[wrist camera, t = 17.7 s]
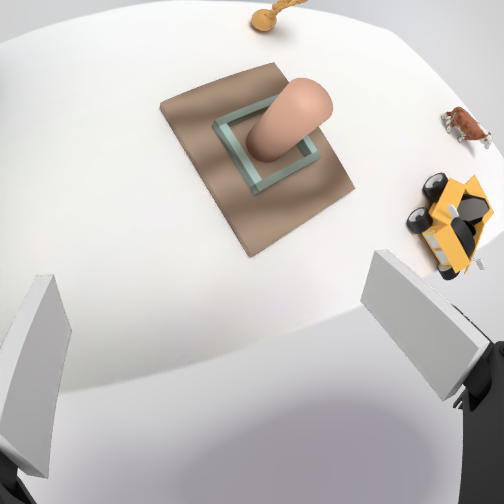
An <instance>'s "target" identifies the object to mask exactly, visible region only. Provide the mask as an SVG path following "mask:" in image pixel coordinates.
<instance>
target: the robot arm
mask: <svg viewBox="0 0 504 504" xmlns="http://www.w3.org/2000/svg"><path fill="white" fill-rule="evenodd" d="M360 301H361V302H362V304H363V305H364V306H365V307H366V308H367V309H368V311H369V312H370V313H371V314H372V315H373V316H374V318H375V319H376V320H377V321H378V322H379V323H380V325H381V326H382V327H383V328H384V329H385V331H386V332H387V333H388V334H389V335H390V337H391V338H392V339H393V340H394V341H395V342H396V344H397V345H398V346H399V347H400V349H401V350H402V351H403V352H404V353H405V355H406V356H407V357H408V358H409V360H410V361H411V362H412V363H413V365H414V366H415V367H416V368H417V369H418V371H419V372H420V373H421V375H422V376H423V377H424V378H425V380H426V381H427V382H428V383H429V385H430V386H431V387H432V389H433V390H434V391H435V392H436V394H437V395H438V396H439V397H440V399H441V400H442V401H444V400H446V399H447V398H450V397H451V396H453V395H455V393H456V392H457V391H458V389H459V388H460V387H461V385H462V384H463V385H464V386H465V387H466V388H465V390H464V391H463V392H462V394H461V395H460V396H459V398H458V399H457V400H456V401H455V403H454V405H453V408H456V406H457V405H458V404H459V403H460V402H461V401H462V403H461V405H460V406H459V408H458V409H462V410H463V456H462V473H461V484H460V493H459V502H458V504H504V341H498V342H496V344H494V343H493V342H492V341H491V340H490V339H489V338H488V337H487V336H486V335H485V334H484V333H483V332H482V331H481V330H479V328H478V327H477V326H476V325H474V324H473V323H472V322H470V320H469V319H468V318H467V317H466V316H464V315H463V313H462V312H461V311H460V310H459V309H457V308H456V307H455V306H454V305H452V304H450V303H449V302H448V301H447V300H446V299H445V298H443V297H442V296H441V295H440V294H439V293H438V292H437V291H436V290H434V289H433V288H432V287H431V286H430V285H429V284H428V283H427V282H425V281H424V280H423V279H422V278H421V277H420V276H419V275H417V274H416V273H415V272H414V271H413V270H411V269H410V268H409V267H408V266H407V265H406V264H404V263H403V262H402V261H401V260H400V259H398V258H397V257H396V256H395V255H393V254H392V253H391V252H390V251H389V250H387V249H386V250H375V251H374V254H373V258H372V262H371V266H370V269H369V273H368V276H367V280H366V283H365V287H364V290H363V293H362V297H361V300H360ZM71 332H72V330H71V327H70V324H69V322H68V319H67V316H66V313H65V310H64V307H63V304H62V301H61V298H60V294H59V291H58V288H57V284H56V281H55V277H54V274H48V275H37V276H36V277H35V279H34V281H33V283H32V285H31V287H30V289H29V290H28V292H27V294H26V296H25V298H24V300H23V302H22V304H21V306H20V308H19V310H18V312H17V314H16V316H15V319H14V321H13V323H12V325H11V327H10V330H9V332H8V334H7V336H6V339H5V341H4V343H3V346H2V348H1V351H0V504H36V502H35V501H34V499H33V498H32V496H31V495H30V493H29V492H28V490H27V489H26V487H25V485H24V484H23V482H22V481H21V479H20V478H19V477H18V476H17V470H18V468H19V469H21V470H22V471H23V472H24V473H26V474H27V475H30V476H36V477H41V478H48V474H49V459H50V447H51V438H52V429H53V422H54V414H55V408H56V402H57V396H58V391H59V385H60V380H61V375H62V370H63V365H64V361H65V356H66V352H67V348H68V344H69V340H70V336H71Z"/></svg>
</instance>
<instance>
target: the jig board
mask: <svg viewBox="0 0 504 504" xmlns="http://www.w3.org/2000/svg"><path fill="white" fill-rule="evenodd" d="M288 84H289V82H288V81H287V79H286V78H285V76H284V75H283V74H282V72H281V71H280V70H279V68H278V67H277V66H276V64H275V63H274V62H273V63H270V64H266V65H263V66H259V67H256V68H252V69H249V70H246V71H243V72H240V73H237V74H233V75H230V76H228V77H225V78H222V79H219V80H216V81H213V82H211V83H208V84H205V85H202V86H200V87H197V88H195V89H192V90H190V91H187V92H185V93H182V94H180V95H177V96H175V97H173V98H170V99H168V100H166V101H163V102H161V103H160V110H161V111H162V113H163V115H164V116H165V118H166V120H167V121H168V123H169V125H170V127H171V128H172V130H173V132H174V133H175V135H176V137H177V138H178V140H179V142H180V143H181V145H182V147H183V148H184V150H185V152H186V153H187V155H188V157H189V158H190V160H191V162H192V163H193V165H194V167H195V168H196V170H197V172H198V173H199V175H200V177H201V178H202V180H203V182H204V183H205V185H206V187H207V188H208V190H209V192H210V193H211V195H212V197H213V198H214V200H215V201H216V203H217V205H218V206H219V208H220V210H221V211H222V213H223V215H224V216H225V218H226V220H227V221H228V223H229V225H230V226H231V228H232V230H233V231H234V233H235V235H236V236H237V238H238V240H239V241H240V243H241V245H242V246H243V248H244V249H245V251H246V253H247V254H248V256H249V257H252V256H254V255H256V254H257V253H259V252H260V251H262V250H263V249H265V248H266V247H268V246H269V245H271V244H272V243H274V242H275V241H277V240H278V239H280V238H281V237H283V236H285V235H286V234H288V233H289V232H291V231H292V230H294V229H295V228H297V227H298V226H300V225H301V224H303V223H304V222H306V221H307V220H309V219H310V218H312V217H313V216H315V215H316V214H318V213H319V212H321V211H322V210H324V209H325V208H327V207H328V206H330V205H331V204H333V203H334V202H336V201H337V200H339V199H340V198H342V197H343V196H345V195H346V194H348V193H349V192H351V191H352V190H354V189H355V187H354V185H353V183H352V182H351V180H350V178H349V176H348V175H347V173H346V171H345V169H344V168H343V166H342V164H341V162H340V161H339V159H338V157H337V156H336V154H335V152H334V151H333V149H332V147H331V146H330V144H329V142H328V141H327V139H326V137H325V136H324V134H323V133H322V131H321V130H320V128H319V126H318V127H317V128H316V129H315V130H313V131H312V132H311V133H309V134H308V135H307V136H306V137H304V138H303V139H302V140H301V141H299V142H298V143H297V144H296V145H294V146H293V147H292V148H291V149H289V150H288V151H287V152H286V153H285V154H283V155H282V156H281V157H280V158H278V159H277V160H276V161H274V162H270V163H265V162H261V161H258V160H256V159H255V158H254V157H252V156H251V154H250V153H249V152H248V150H247V147H246V137H247V135H248V133H249V132H250V130H251V129H252V128H253V127H254V125H255V124H256V123H257V122H258V120H259V119H260V118H261V117H262V115H263V114H264V113H265V112H266V110H267V109H268V108H269V107H270V105H271V104H272V103H273V102H274V101H275V99H276V98H277V97H278V96H279V94H280V93H281V92H282V91H283V90H284V88H285V87H286V86H287V85H288Z"/></svg>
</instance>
